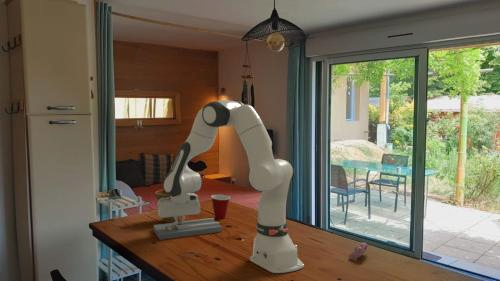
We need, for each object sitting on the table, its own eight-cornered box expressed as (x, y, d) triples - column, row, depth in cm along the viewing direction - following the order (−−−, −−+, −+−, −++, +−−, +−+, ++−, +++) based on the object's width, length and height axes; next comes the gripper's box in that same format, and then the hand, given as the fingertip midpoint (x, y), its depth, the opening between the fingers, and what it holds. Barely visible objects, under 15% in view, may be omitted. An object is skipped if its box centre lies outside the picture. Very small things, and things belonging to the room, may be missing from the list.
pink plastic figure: (357, 265, 147) (366, 250, 145) (347, 257, 149) (355, 243, 147) (363, 256, 155) (371, 243, 153) (353, 250, 157) (361, 236, 155)
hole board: (221, 231, 183) (221, 224, 183) (159, 239, 171) (159, 232, 170) (211, 223, 197) (211, 216, 197) (153, 230, 185) (153, 222, 185)
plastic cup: (229, 220, 202) (229, 198, 202) (209, 220, 203) (209, 198, 202) (231, 215, 213) (231, 194, 212) (212, 214, 213) (212, 194, 213)
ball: (173, 224, 179) (166, 228, 178) (177, 231, 180) (169, 235, 179) (172, 222, 183) (164, 226, 181) (175, 229, 184) (168, 233, 182)
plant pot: (171, 215, 212) (170, 187, 211) (190, 219, 203) (189, 190, 202) (150, 221, 200) (149, 192, 199) (169, 226, 191) (168, 195, 190)
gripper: (158, 199, 174) (159, 229, 175) (201, 196, 182) (201, 223, 183) (156, 197, 180) (156, 225, 181) (197, 193, 188) (197, 220, 189)
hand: (179, 224), depth 182 cm, fingers closed
